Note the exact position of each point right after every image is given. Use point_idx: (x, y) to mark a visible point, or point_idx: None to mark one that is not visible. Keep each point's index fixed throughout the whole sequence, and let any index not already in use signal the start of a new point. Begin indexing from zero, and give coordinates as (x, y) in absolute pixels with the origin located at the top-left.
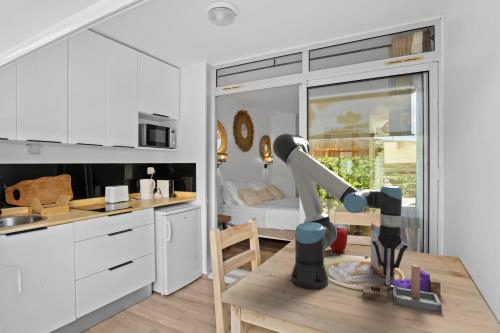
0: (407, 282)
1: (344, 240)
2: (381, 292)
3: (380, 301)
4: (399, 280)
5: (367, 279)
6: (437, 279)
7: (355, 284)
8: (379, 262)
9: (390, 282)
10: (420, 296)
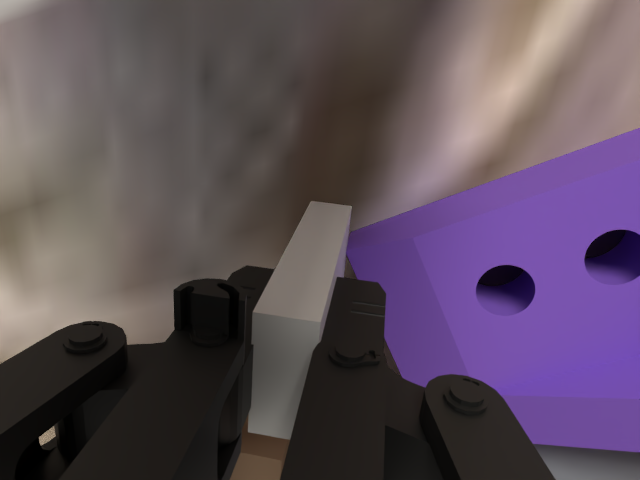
0: (593, 281)
1: None
2: None
3: None
4: (490, 234)
5: (100, 91)
6: None
7: (6, 278)
8: (60, 476)
9: (357, 259)
10: None
